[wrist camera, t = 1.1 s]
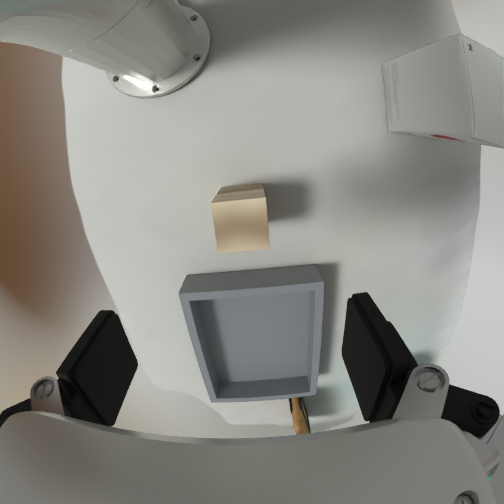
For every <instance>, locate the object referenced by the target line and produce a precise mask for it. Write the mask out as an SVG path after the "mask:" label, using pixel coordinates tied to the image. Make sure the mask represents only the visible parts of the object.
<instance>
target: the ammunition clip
mask: <svg viewBox="0 0 504 504" xmlns="http://www.w3.org/2000/svg"><path fill="white" fill-rule="evenodd" d="M289 402H290V410H291V413H292V417H293V424H294V428H295V431H296V435H300V434H308V433H311V431H310V425H309V419H308V414H307V411H306V408H305V405H304V402H303V399H302V397H296V398H289Z"/></svg>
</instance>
